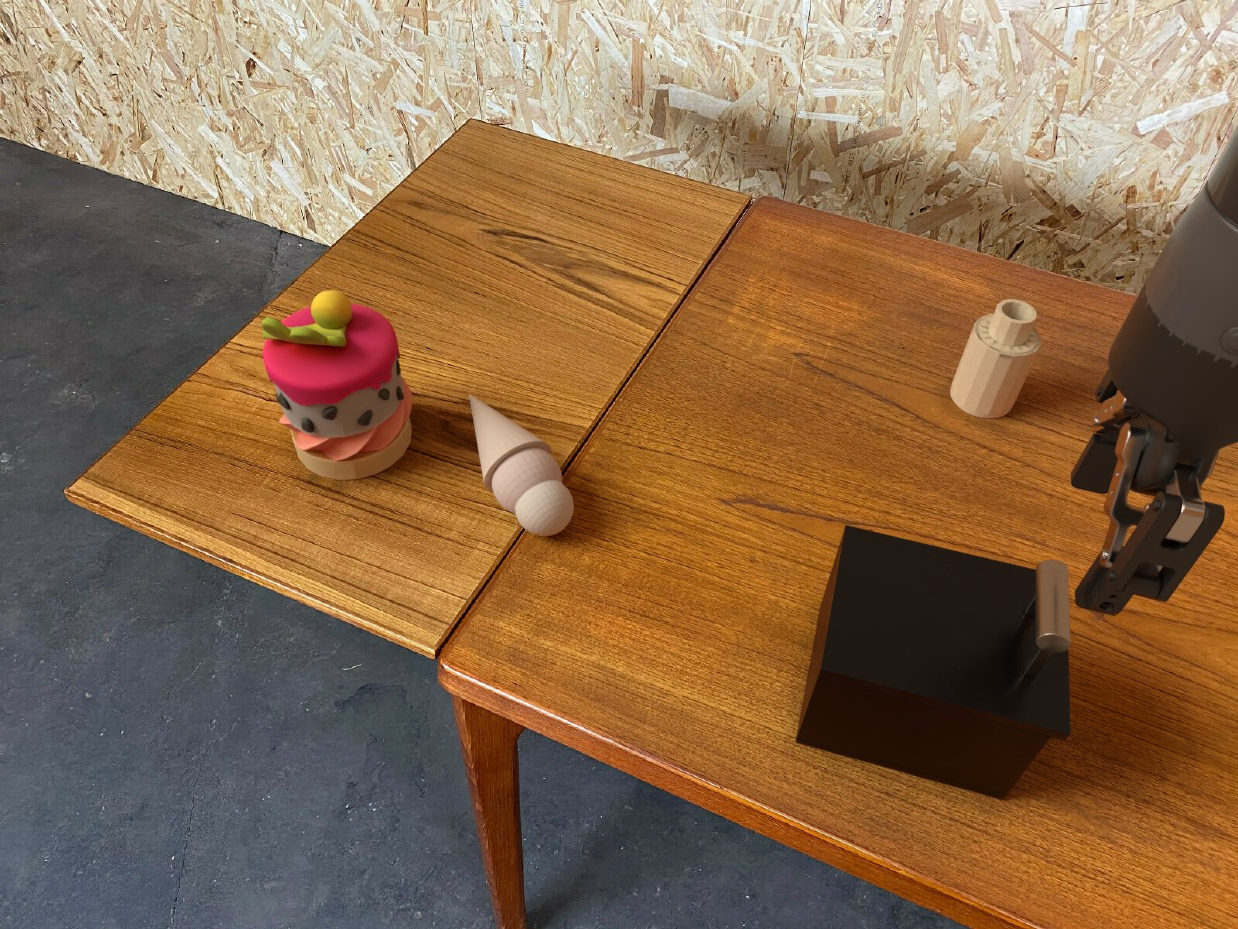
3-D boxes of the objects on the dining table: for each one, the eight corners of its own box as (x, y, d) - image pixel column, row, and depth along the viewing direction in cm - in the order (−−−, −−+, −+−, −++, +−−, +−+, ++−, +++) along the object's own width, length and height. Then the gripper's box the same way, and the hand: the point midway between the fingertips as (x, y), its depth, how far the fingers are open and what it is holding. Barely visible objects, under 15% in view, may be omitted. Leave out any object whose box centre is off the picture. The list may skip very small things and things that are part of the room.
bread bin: (1006, 651, 69) (1049, 581, 63) (1002, 800, 62) (1051, 737, 55) (820, 605, 72) (843, 532, 65) (795, 742, 64) (817, 676, 58)
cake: (313, 391, 86) (272, 251, 75) (428, 400, 86) (404, 261, 75) (274, 477, 79) (222, 337, 68) (399, 488, 79) (368, 349, 68)
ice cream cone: (474, 422, 84) (560, 553, 77) (422, 415, 79) (509, 555, 72) (514, 371, 81) (606, 503, 75) (462, 361, 76) (557, 501, 70)
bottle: (1013, 383, 89) (1051, 297, 82) (1012, 424, 85) (1051, 338, 78) (951, 371, 90) (984, 285, 83) (948, 411, 86) (981, 324, 79)
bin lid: (1062, 583, 63) (1095, 530, 59) (1066, 741, 55) (1104, 693, 51) (843, 531, 65) (860, 477, 61) (818, 675, 58) (835, 624, 54)
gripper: (1382, 441, 34) (1176, 672, 46) (1309, 227, 44) (1153, 466, 56) (1162, 396, 36) (1017, 632, 48) (1136, 198, 45) (1020, 437, 57)
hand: (1091, 542), depth 52 cm, fingers open, 8 cm apart
